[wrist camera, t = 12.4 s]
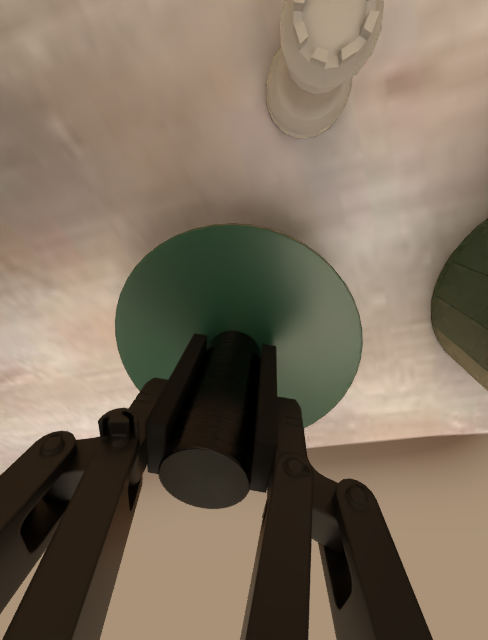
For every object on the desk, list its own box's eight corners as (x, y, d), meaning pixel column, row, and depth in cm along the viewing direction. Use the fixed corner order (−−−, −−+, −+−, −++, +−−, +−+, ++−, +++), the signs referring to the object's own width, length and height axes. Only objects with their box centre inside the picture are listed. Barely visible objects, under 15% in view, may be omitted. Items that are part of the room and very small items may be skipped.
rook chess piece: (257, 58, 15) (243, -65, 8) (342, 23, 14) (417, -156, 7) (275, 151, 16) (278, 122, 9) (352, 125, 16) (420, 71, 8)
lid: (131, 410, 21) (39, 553, 13) (114, 204, 14) (-97, 222, 6) (323, 442, 20) (356, 613, 12) (394, 242, 14) (568, 319, 6)
